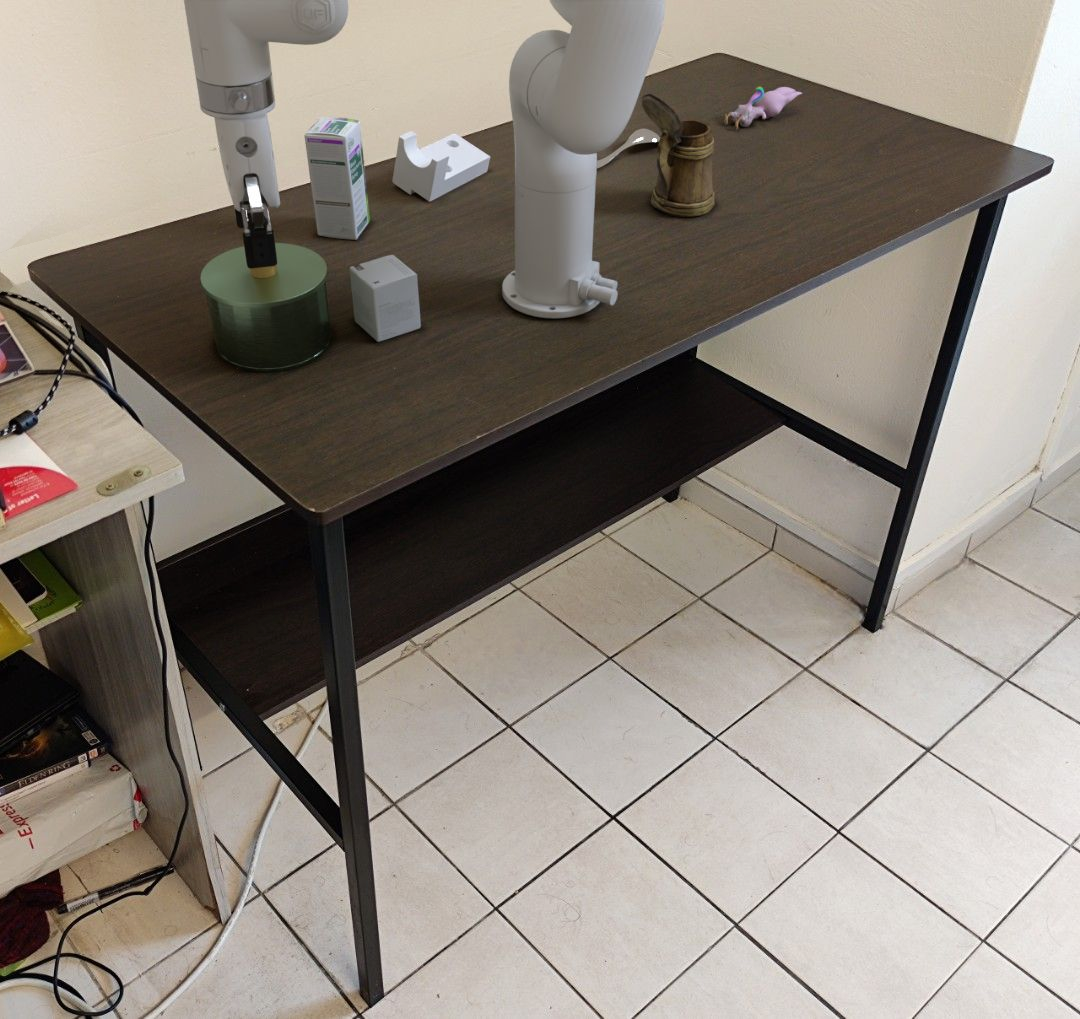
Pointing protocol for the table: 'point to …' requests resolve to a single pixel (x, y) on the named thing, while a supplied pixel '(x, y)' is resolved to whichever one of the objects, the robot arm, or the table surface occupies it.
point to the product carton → (385, 297)
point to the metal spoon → (632, 143)
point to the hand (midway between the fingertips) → (257, 245)
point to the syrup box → (337, 177)
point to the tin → (272, 333)
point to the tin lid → (264, 277)
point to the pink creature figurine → (762, 105)
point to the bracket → (436, 165)
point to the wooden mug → (681, 162)
